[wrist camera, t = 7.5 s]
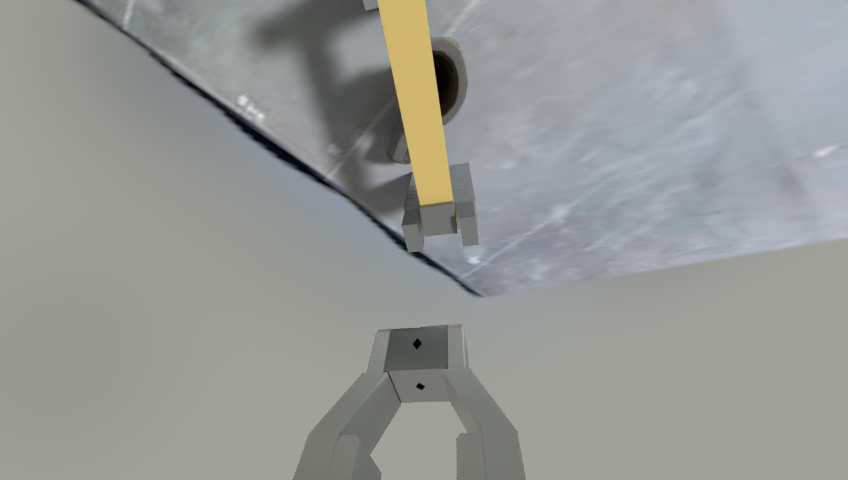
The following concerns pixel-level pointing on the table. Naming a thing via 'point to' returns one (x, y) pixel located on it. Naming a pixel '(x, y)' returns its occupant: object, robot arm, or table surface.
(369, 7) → the grey slotted stand
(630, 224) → the table surface
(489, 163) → the table surface
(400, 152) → the pipe
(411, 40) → the yellow bar
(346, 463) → the robot arm
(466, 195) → the stop block
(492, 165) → the table surface
